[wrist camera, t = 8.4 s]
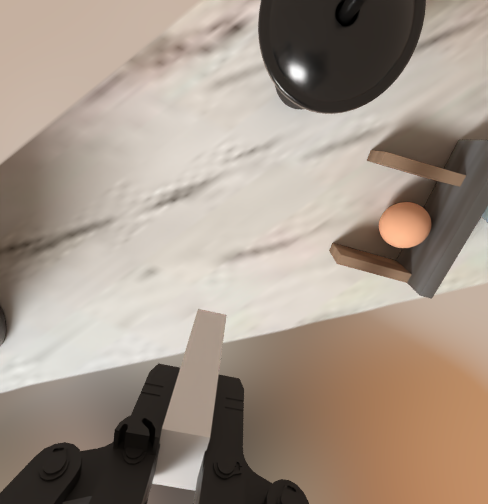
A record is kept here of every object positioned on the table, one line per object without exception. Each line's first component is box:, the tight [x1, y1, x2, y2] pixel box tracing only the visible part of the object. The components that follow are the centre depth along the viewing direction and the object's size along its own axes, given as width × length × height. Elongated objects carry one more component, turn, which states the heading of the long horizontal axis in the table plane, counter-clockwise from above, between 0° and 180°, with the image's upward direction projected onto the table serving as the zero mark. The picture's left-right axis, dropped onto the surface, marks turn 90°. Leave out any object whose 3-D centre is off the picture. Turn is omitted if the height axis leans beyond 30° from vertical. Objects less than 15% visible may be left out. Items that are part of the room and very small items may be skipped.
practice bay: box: [329, 140, 488, 298], centre depth 27 cm, size 9×14×6 cm, turn 165°
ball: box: [379, 202, 431, 248], centre depth 28 cm, size 4×4×4 cm
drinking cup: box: [258, 0, 426, 114], centre depth 17 cm, size 8×8×20 cm
